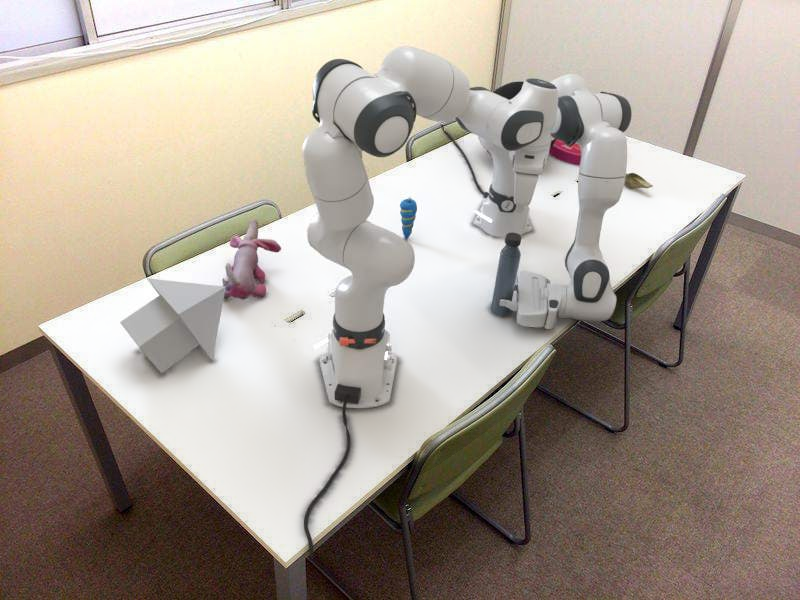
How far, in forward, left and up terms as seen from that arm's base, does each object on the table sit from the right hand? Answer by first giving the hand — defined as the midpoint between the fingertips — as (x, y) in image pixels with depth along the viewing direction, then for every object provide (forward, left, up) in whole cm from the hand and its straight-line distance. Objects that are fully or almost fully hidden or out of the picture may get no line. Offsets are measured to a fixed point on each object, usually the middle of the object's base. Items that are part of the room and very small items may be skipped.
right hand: (499, 294), depth 175 cm
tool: (-85, +46, -5) cm, 97 cm away
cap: (0, +1, +18) cm, 18 cm away
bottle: (0, +1, -5) cm, 5 cm away
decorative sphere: (-94, +4, -5) cm, 94 cm away
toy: (+2, -71, -5) cm, 71 cm away
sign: (-112, +32, -5) cm, 116 cm away
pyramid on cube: (+30, -76, -5) cm, 82 cm away
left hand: (0, +1, +28) cm, 28 cm away
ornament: (-30, -29, -5) cm, 42 cm away
